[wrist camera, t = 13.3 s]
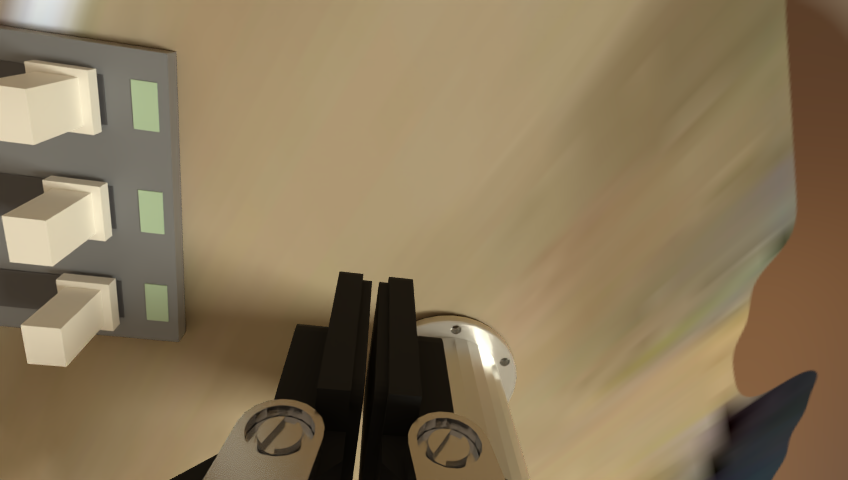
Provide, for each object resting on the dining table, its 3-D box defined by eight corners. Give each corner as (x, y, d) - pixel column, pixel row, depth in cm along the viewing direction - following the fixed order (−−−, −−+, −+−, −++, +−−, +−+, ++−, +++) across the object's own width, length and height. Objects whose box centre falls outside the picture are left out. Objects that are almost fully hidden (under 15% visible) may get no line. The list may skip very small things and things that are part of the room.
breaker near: (101, 131, 34) (46, 155, 29) (43, 123, 34) (-24, 146, 28) (96, 68, 33) (36, 81, 27) (34, 59, 32) (-39, 70, 27)
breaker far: (119, 323, 40) (77, 373, 35) (70, 319, 40) (18, 369, 34) (115, 278, 39) (69, 323, 33) (63, 273, 38) (9, 317, 33)
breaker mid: (112, 235, 37) (64, 274, 32) (58, 229, 37) (0, 268, 31) (107, 182, 36) (56, 214, 30) (51, 175, 35) (-12, 206, 30)
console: (185, 331, 43) (178, 342, 42) (-81, 306, 41) (-98, 317, 39) (176, 51, 34) (166, 53, 33) (-163, 0, 32) (-189, 0, 31)
